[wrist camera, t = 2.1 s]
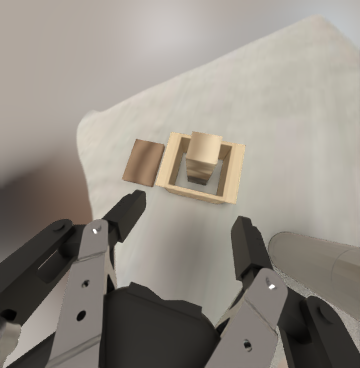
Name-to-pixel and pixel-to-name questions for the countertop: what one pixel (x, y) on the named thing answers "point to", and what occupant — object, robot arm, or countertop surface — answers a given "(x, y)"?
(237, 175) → the carton
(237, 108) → the countertop surface
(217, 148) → the block
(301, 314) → the robot arm
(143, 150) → the walnut board
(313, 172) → the countertop surface
